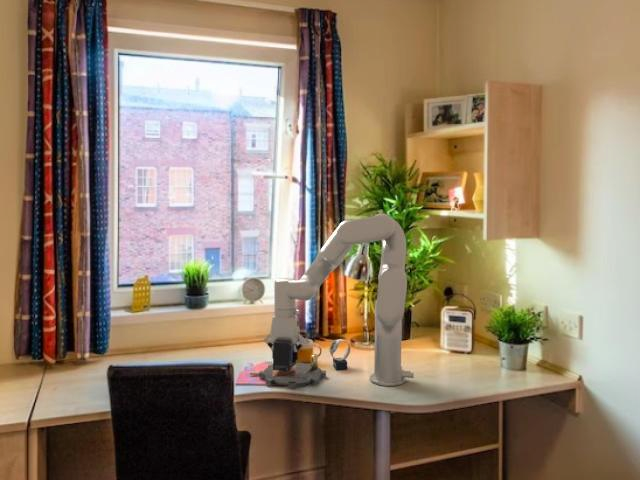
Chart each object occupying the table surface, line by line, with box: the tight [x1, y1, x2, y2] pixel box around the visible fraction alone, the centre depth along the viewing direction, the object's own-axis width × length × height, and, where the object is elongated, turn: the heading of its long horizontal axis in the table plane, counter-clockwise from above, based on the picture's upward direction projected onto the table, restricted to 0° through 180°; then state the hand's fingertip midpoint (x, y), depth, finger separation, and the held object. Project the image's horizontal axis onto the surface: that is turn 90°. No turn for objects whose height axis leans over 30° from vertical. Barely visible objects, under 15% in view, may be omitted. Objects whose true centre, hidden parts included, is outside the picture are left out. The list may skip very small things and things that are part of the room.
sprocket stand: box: [249, 370, 260, 376], centre depth 203 cm, size 21×10×1 cm, turn 79°
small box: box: [272, 340, 297, 371], centre depth 202 cm, size 11×6×10 cm, turn 169°
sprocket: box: [258, 353, 327, 389], centre depth 202 cm, size 24×24×7 cm
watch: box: [328, 338, 351, 371], centre depth 213 cm, size 6×8×11 cm
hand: (285, 360), depth 202 cm, fingers closed on small box, 6 cm apart
